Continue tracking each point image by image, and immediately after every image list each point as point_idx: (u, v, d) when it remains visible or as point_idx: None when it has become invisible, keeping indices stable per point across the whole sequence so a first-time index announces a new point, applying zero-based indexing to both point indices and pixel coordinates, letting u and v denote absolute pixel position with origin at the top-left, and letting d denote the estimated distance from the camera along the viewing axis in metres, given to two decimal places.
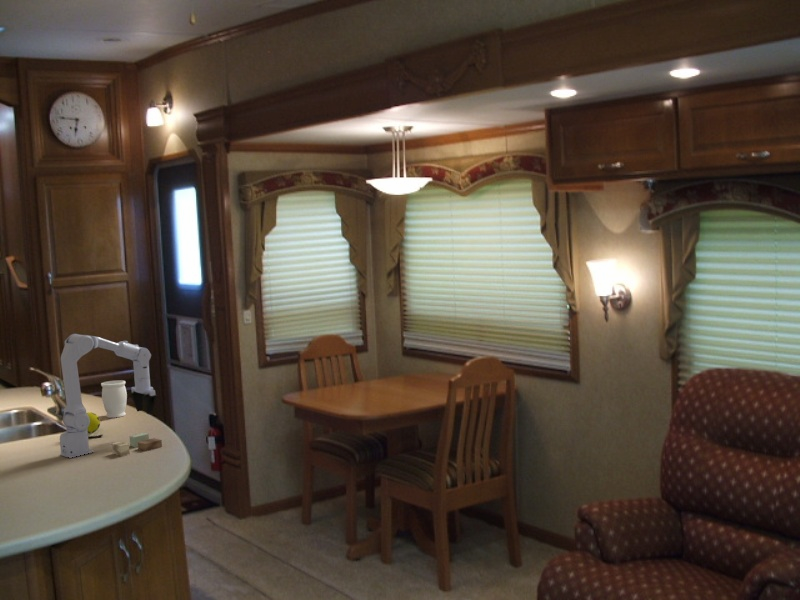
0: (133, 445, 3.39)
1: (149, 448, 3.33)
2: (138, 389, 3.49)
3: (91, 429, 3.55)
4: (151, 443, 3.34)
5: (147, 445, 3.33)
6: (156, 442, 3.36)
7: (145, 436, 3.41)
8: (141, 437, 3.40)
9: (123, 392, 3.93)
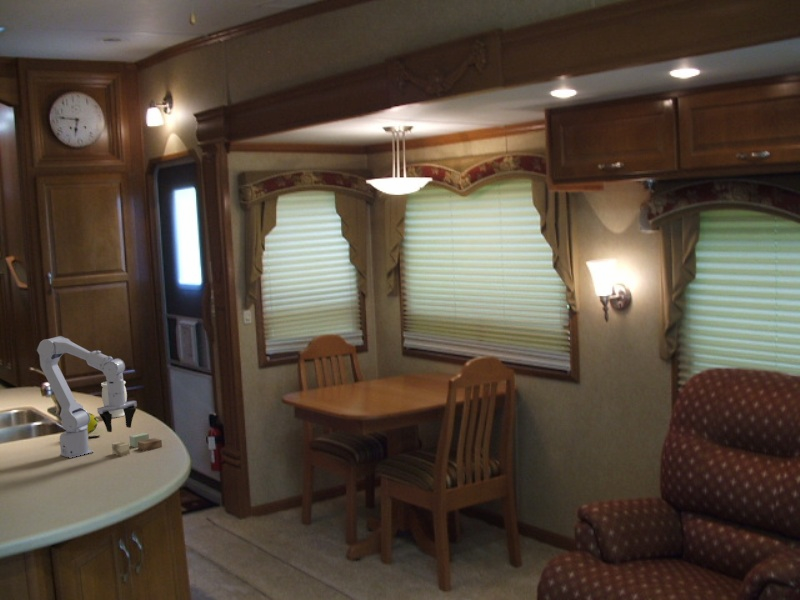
0: (133, 445, 3.39)
1: (149, 448, 3.33)
2: None
3: (88, 429, 3.55)
4: (151, 443, 3.34)
5: (146, 445, 3.33)
6: (156, 442, 3.35)
7: (145, 436, 3.41)
8: (141, 437, 3.40)
9: None
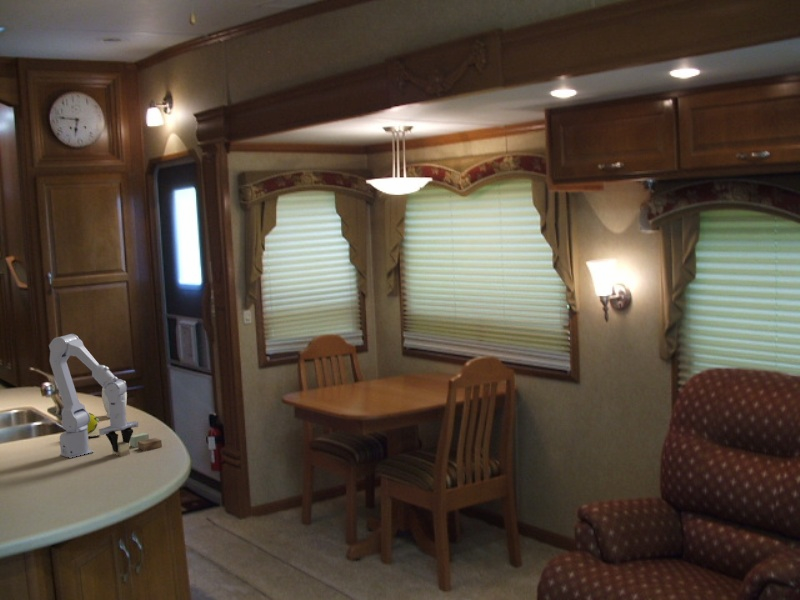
0: (133, 445, 3.39)
1: (148, 448, 3.33)
2: None
3: (88, 429, 3.55)
4: (150, 443, 3.34)
5: (146, 445, 3.33)
6: (156, 442, 3.35)
7: (145, 436, 3.41)
8: (141, 437, 3.40)
9: None
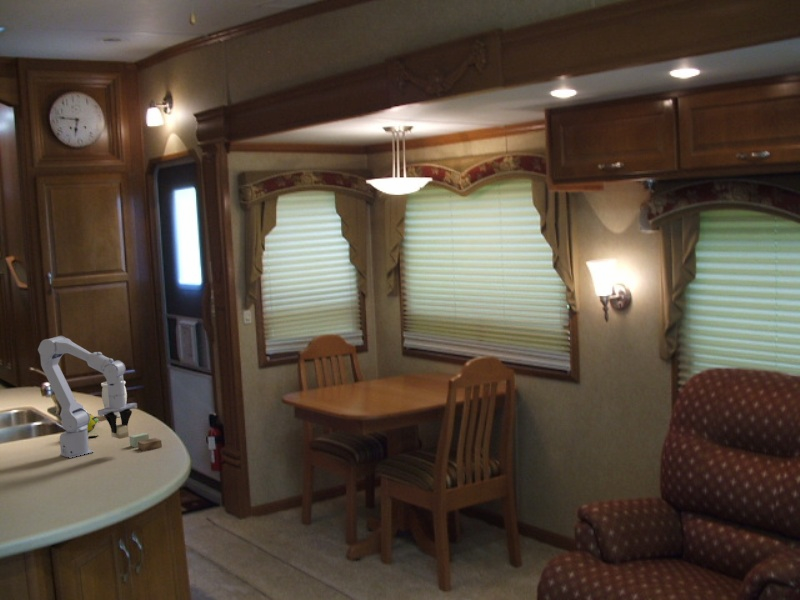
0: (133, 445, 3.39)
1: (148, 448, 3.33)
2: None
3: None
4: (150, 443, 3.34)
5: (146, 445, 3.33)
6: (155, 442, 3.35)
7: (145, 436, 3.41)
8: (141, 437, 3.40)
9: None
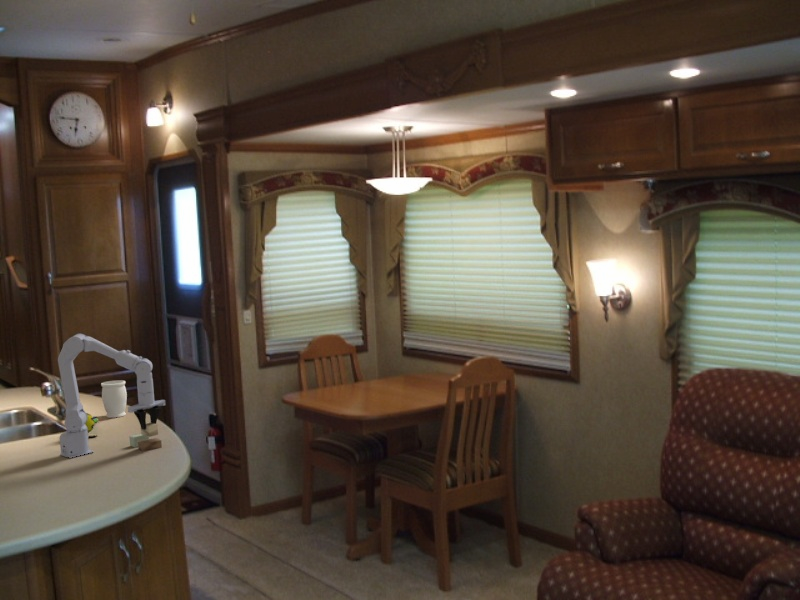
0: (133, 445, 3.39)
1: (148, 448, 3.33)
2: None
3: None
4: (150, 443, 3.34)
5: (145, 445, 3.33)
6: (155, 442, 3.35)
7: (145, 436, 3.41)
8: (141, 437, 3.40)
9: (123, 392, 3.93)
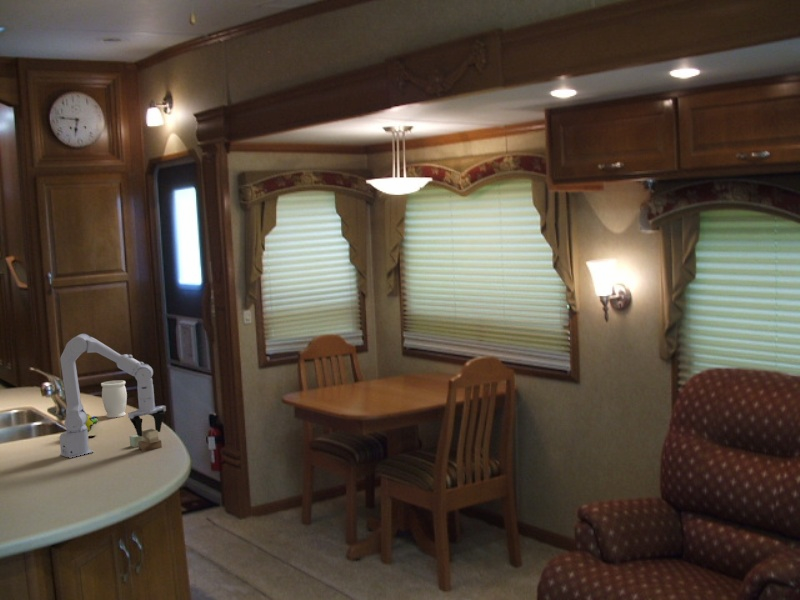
0: (133, 445, 3.39)
1: (147, 448, 3.33)
2: None
3: None
4: (150, 443, 3.34)
5: (145, 445, 3.33)
6: (155, 442, 3.35)
7: None
8: (141, 437, 3.40)
9: (123, 392, 3.93)
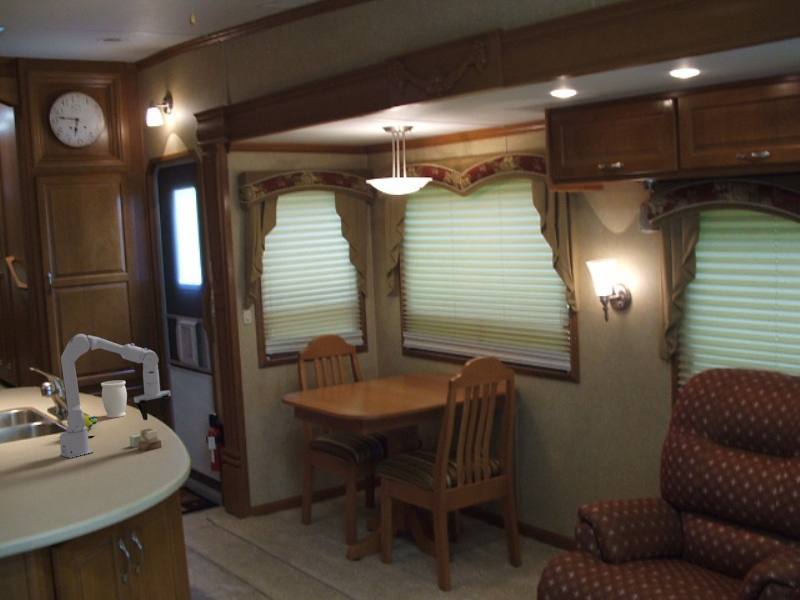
0: (133, 445, 3.39)
1: (147, 448, 3.33)
2: None
3: None
4: (149, 443, 3.34)
5: (145, 445, 3.33)
6: (155, 443, 3.35)
7: None
8: None
9: (123, 392, 3.93)
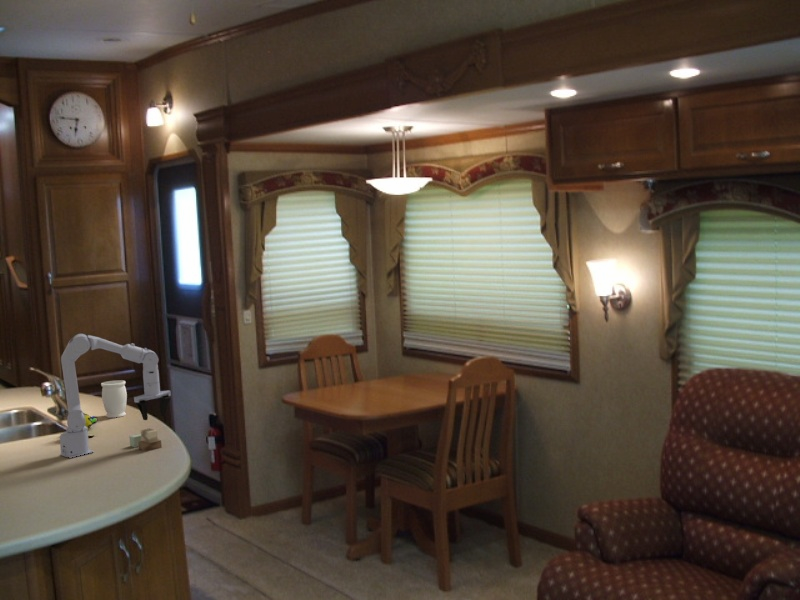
0: (133, 445, 3.39)
1: (147, 448, 3.33)
2: None
3: None
4: (149, 443, 3.34)
5: (145, 445, 3.33)
6: (155, 443, 3.35)
7: None
8: None
9: (123, 392, 3.93)
